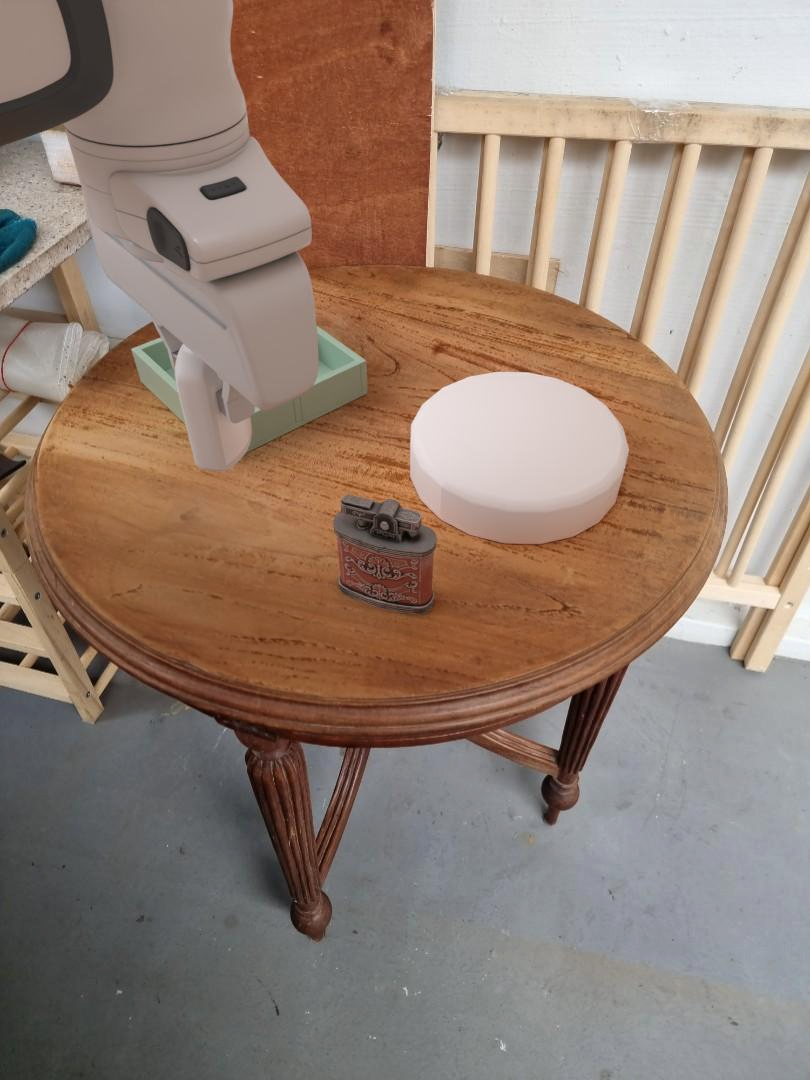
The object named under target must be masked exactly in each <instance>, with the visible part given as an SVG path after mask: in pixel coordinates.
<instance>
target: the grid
mask: <svg viewBox="0 0 810 1080" xmlns="http://www.w3.org/2000/svg"><path fill="white" fill-rule="evenodd" d="M317 336H318V358H319V370H318V377H317V380H316V382H315V383H314V385H313V386H312V387H311V389H310V390H309V391H308V392H306V393H305V394H303V395H301V396H299V397H297V398H295V399H293V400H291V401H288V402H286V403H284V404H281V405H279V406H277V407H274V408H272V409H269V410H260V409H258V408H256V407H255V412H254V414H253V415H252V416H251V417H250V419H251V425H252V437H251V442H250V445H249V448H248V450H247V452H246V453H245V454H248V453H250V452H251V451H253V450H255V449H258V448H259V447H261V446H263V445H265V444H268V443H269V442H272V441H273V440H275V439H278V438H279V437H282V436H283V435H286V434H288V433H290V432H293V431H294V430H296V429H298V428H300V427H302V426H304V425H307V424H308V423H310V422H312V421H314V420H316V419H319V418H320V417H323V416H325V415H328V414H329V413H331V412H333V411H335V410H336V409H339V408H341V407H343V406H345V405H347V404H349V403H352V402H353V401H355V400H357V399H359V398H361V397H363V396H365V395H367V394H368V368H367V360H366V359H365V358H364V357H362V356H360V355H359V353H356V352H355V351H353V350H352V349H350V348H349V347H348V346H346V345H345V344H344V343H342V342H341V341H340V340H338V339H336V338H335V337H334V336H333V335H331V334H329V333H328V332H326V331H325V330H324V329H323V328H321V327H319V326H318V325H317ZM131 353H132V356H133V360H134V363H135V367H136V370H137V373H138V377H139V380H140V382H141V384H143V385H144V386H145V388H147V389H148V390H149V391H150V392H151V393H152V394H153V395H154V396H155V397H156V398H157V399H158V400H159V401H160V402H161V403H162V404H163V405H165V406H166V407H167V408H168V409H169V410H170V411H171V412H172V413H173V414H174V415H175V417H176V418H178V419H179V421H181V422H182V423H183V424H184V425H185V426H186V424H185V419H184V415H183V411H182V407H181V403H180V399H179V394H178V389H177V385H176V379H175V370H174V369H173V368H172V365H171V361H170V357H169V353H168V349H167V348H166V346H165V344H164V342H163V340H162V339H161V337H160V336H159V337H158V338H155V339H153V340H150V341H148V342H145V343H142V344H140V345H138V346H135V347H131Z"/></svg>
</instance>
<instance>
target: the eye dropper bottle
mask: <svg viewBox="0 0 810 1080" xmlns="http://www.w3.org/2000/svg"><path fill="white" fill-rule="evenodd" d="M175 379H176V385H177V389H178V394H179V399H180V403H181V407H182V411H183V415H184V419H185V424H186V425H185V424H184V425H185V427H186V431H187V437H188V440H189V443H190V448H191V451H192V455H193V460H194V464H195V466H196V467H197V468H198V469H201V470H204V471H211V472H220V473H221V472H227V471H229V470H231V469H232V468H233V467H234V466H236V465H237V464H238V463H239V462H240V461H241V460H242V459H243V458H244V456H245V455H246V454H247V453H248V452H247V450H248V448H249V445H250V442H251V437H252V425H251V419H250V418H247V419H245V420H243V421H241V422H238V423H232V422H231V421H230V420H229V419H228V418H227V417H226V416H225V415H224V414H223V413H221V411H220V410H219V406H218V405H219V404H218V401H217V396H216V392H217V391H218V390H220V389H222V388H223V381H222V380H220V379H219V377H218V375H217V373H216V372H215V371H214V370H213V369H212V368H211V367H209V366H208V365H207V364H206V363H205V362H204V361H203V360H201V359H200V358H199V357H198V356H197V355H196V354H195V353H193V352H192V351H191V350H190V349H189V348H188V347H186V346H185V345H184V344H182V346H181V348H180V350H179V352H178V355H177V358H176V363H175ZM246 452H247V453H246Z"/></svg>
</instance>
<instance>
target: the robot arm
mask: <svg viewBox="0 0 810 1080" xmlns="http://www.w3.org/2000/svg"><path fill="white" fill-rule="evenodd" d="M233 19H234V0H0V147H3V146H6V145H8V144H11V143H12V144H13V143H15V142H18V141H21V140H24V139H26V138H29V137H32V136H35V135H37V134H40V133H44V132H46V131H48V130H51V129H53V128H57V127H58V126H60V125H63V126H64V130H65V134H66V138H67V140H68V144H69V148H70V151H71V154H72V155H71V156H72V158H73V159H72V160H73V163H74V166H75V168H76V169H75V170H76V172H77V177H78V179H79V182H80V187H81V194H82V199H83V204H84V209H85V213H86V216H87V217H86V219H87V222H88V226H89V231H90V235H91V238H92V242H93V247H94V250H95V254H96V257H97V259H98V262H99V264H100V266H101V268H102V270H103V272H104V274H105V276H106V278H107V279H108V280H109V281H110V282H112V284H114V285H115V286H116V287H117V288H118V289H120V290H121V291H122V292H123V293H124V294H125V295H126V296H128V297H129V298H130V299H131V300H132V301H133V302H135V303H136V304H137V305H138V306H139V307H140V308H142V310H144V311H145V312H146V313H147V314H148V315H149V316H150V319H151V321H152V323H153V325H154V327H155V329H156V331H157V332H158V335H159V338H160V337H161V339H162V340H163V342H164V344H165V346H166V348H167V349H168V353H169V357H170V361H171V365H172V368H173V369H174V370H175V363H176V358H177V355H178V352H179V350H180V348H181V346H182V344H184V345H185V346H186V347H188V348H189V349H190V350H191V351H192V352H193V353H195V354H196V355H197V356H198V357H199V358H200V359H201V360H203V361H204V362H205V363H206V364H207V365H208V366H209V367H211V368H212V369H213V370H214V371H215V372H216V373H217V375H218V377H219V379H220V380H222V381H223V388H222V389H220V390H218V391H217V392H216V396H217V401H218V404H219V405H218V406H219V410H220V411H221V413H223V414H224V415H225V416H226V417H227V418H228V419H229V420H230V421H231V422H232V423H238V422H241V421H243V420H245V419H247V418H250V417H251V416H252V415H253V414H254V412H255V407H256V408H258V409H260V410H269V409H272V408H274V407H277V406H279V405H281V404H284V403H286V402H288V401H291V400H293V399H295V398H297V397H299V396H301V395H303V394H305V393H306V392H308V391H309V390H310V389H311V387H312V386H313V385H314V383H315V382H316V380H317V377H318V370H319V358H318V336H317V326H318V325H317V324H318V323H317V313H316V312H317V311H316V303H315V293H314V290H313V289H314V288H313V284H312V283H313V282H312V279H311V276H310V273H309V270H308V267H307V266H306V263H305V262H304V259H303V258H302V256H301V255H300V253H299V252H298V251H300V250H303V249H305V248H307V247H309V246H310V245H311V243H312V240H313V239H312V238H313V228H312V219H311V215H310V212H309V209H308V207H307V205H306V204H305V202H304V201H303V200H302V198H300V196H299V195H298V194H297V193H296V191H294V190H293V189H292V188H291V186H289V184H288V183H287V182H286V181H285V179H284V178H283V177H282V176H281V175H280V174H279V172H278V171H277V169H276V168H275V167H274V166H273V164H272V163H271V161H270V160H269V158H268V157H267V155H266V154H265V152H264V150H263V148H262V146H261V145H260V142H259V141H258V140H257V139H256V138H255V137H254V136H251V134H250V126H249V117H248V110H247V103H246V99H245V94H244V92H243V89H242V87H241V84H240V81H239V79H238V76H237V74H236V71H235V67H234V62H233V57H232V50H231V48H232V47H231V37H232V35H231V34H232V26H233Z"/></svg>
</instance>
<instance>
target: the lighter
mask: <svg viewBox="0 0 810 1080" xmlns="http://www.w3.org/2000/svg"><path fill="white" fill-rule="evenodd" d="M339 503H340V511H338V512H337V513H336V514H335V516H334V517H333V519H332V520H333V521H332V522H333V532H334V535H335V537H336V541H337V552H338V564H339V574H338V588H339V590H340V592H341V594H343V595H345V596H347V597H349V598H351V599H354V600H356V601H357V602H360V603H362V604H365V605H368V606H371V607H374V608H377V609H380V610H384V611H389V612H395V613H400V614H401V613H402V614H409V615H424V614H426V613H428V612H429V611H431V609H432V607H433V606H434V602H435V592H434V589H433V580H434V579H433V578H434V557H435V555H434V554H435V551H436V548H437V541H438V538H437V533H436V532H435V530H434V529H432V528H431V527H429V526H427V525H424V524H423V523H422V513H421V512H420V511H417V510H413V509H409V508H406V507H405V508H404V507H403V505H401V503H400V502H399V501H397V500H396V499H392V498H386V499H385V500H384V501H381V502H379V501H376V500H374V499H370V498H366V497H361V496H358V495H354V494H345V495H343V496H342V497H341V499H340V502H339Z"/></svg>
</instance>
